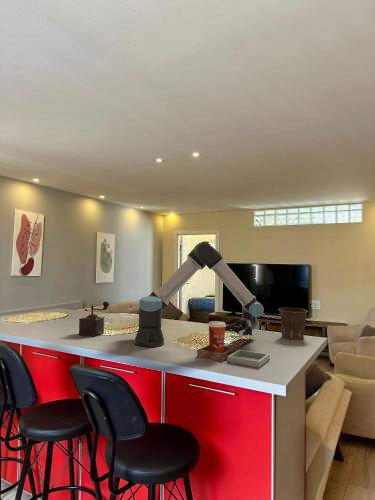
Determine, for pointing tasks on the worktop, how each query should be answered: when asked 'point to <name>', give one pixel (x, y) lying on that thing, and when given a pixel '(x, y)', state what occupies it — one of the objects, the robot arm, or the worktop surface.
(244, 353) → the green square tray
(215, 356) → the walnut tray
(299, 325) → the plant pot
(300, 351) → the worktop surface
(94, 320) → the pepper mill
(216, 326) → the coffee cup
